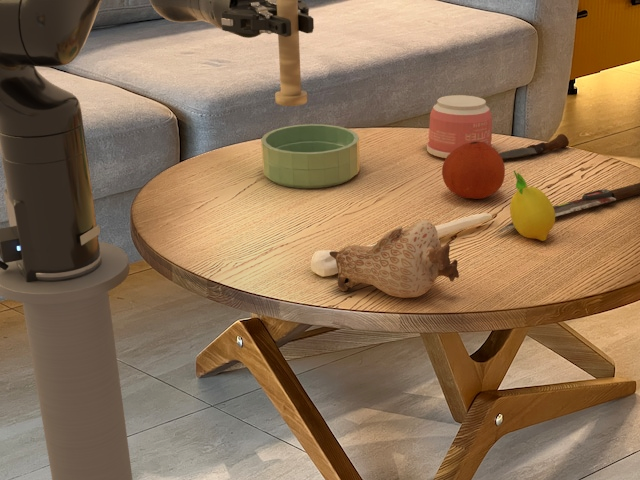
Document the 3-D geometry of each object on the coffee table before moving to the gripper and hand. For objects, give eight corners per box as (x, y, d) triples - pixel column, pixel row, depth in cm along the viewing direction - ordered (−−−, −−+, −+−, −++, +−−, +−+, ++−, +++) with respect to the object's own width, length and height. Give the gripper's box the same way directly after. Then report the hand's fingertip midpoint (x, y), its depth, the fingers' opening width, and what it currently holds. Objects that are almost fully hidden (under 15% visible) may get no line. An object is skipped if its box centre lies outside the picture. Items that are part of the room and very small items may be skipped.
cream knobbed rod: (475, 215, 148) (475, 195, 147) (496, 222, 145) (496, 202, 144) (304, 271, 133) (302, 249, 132) (323, 280, 130) (321, 258, 129)
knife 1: (563, 132, 176) (578, 138, 172) (563, 145, 177) (578, 151, 173) (468, 146, 171) (481, 153, 167) (469, 159, 172) (481, 166, 168)
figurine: (456, 317, 125) (341, 306, 132) (475, 243, 129) (362, 236, 135) (430, 282, 118) (310, 272, 124) (451, 204, 121) (332, 199, 128)
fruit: (450, 183, 161) (451, 130, 157) (509, 189, 158) (511, 135, 155) (433, 203, 153) (434, 148, 150) (495, 210, 151) (498, 154, 147)
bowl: (286, 196, 156) (284, 159, 154) (249, 167, 167) (246, 132, 165) (375, 179, 162) (375, 144, 160) (333, 152, 174) (333, 119, 171)
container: (418, 104, 168) (417, 155, 171) (484, 111, 164) (482, 162, 168) (439, 90, 177) (438, 139, 180) (502, 96, 174) (500, 145, 177)
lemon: (547, 235, 136) (517, 162, 137) (512, 252, 140) (483, 181, 141) (575, 228, 141) (546, 157, 142) (541, 245, 145) (512, 176, 146)
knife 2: (497, 239, 142) (659, 192, 157) (497, 225, 141) (660, 179, 156) (483, 234, 144) (645, 188, 159) (483, 221, 143) (645, 175, 158)
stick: (282, 107, 149) (276, -28, 141) (270, 99, 153) (263, -33, 145) (312, 103, 151) (307, -31, 143) (299, 95, 155) (294, -36, 147)
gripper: (189, -15, 152) (252, 4, 140) (275, -26, 160) (342, -8, 147) (193, 39, 155) (256, 63, 143) (278, 26, 163) (344, 47, 151)
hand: (299, 27), depth 145 cm, fingers closed on stick, 3 cm apart
